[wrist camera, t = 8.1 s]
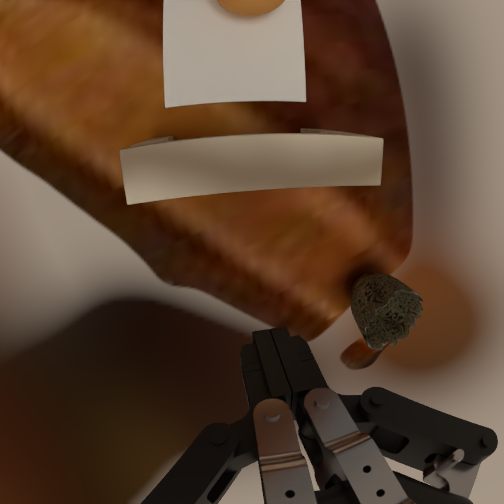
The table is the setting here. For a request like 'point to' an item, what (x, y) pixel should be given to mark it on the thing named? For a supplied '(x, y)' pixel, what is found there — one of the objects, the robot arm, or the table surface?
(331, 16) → the table surface
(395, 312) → the jagged textured lump
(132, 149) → the bridge
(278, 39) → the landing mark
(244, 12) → the ball
